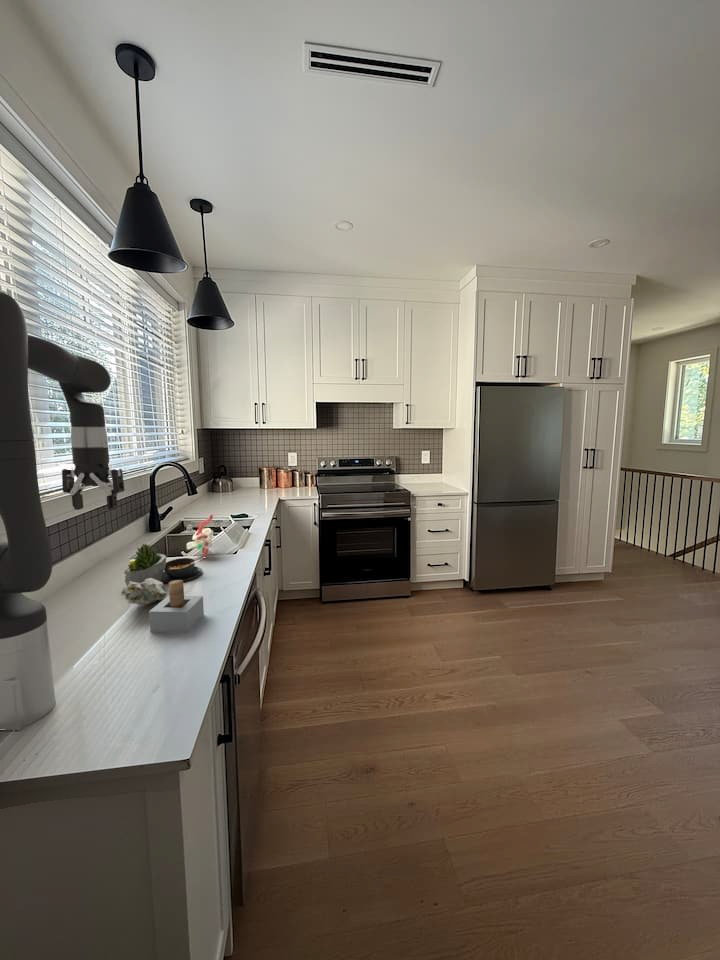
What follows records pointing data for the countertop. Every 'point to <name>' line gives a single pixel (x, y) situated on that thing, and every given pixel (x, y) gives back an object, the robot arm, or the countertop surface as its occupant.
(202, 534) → the anatomical model
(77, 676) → the countertop surface
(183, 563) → the soup bowl
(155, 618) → the socket
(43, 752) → the countertop surface
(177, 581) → the peg
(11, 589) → the robot arm
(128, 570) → the potted plant
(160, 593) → the rock
